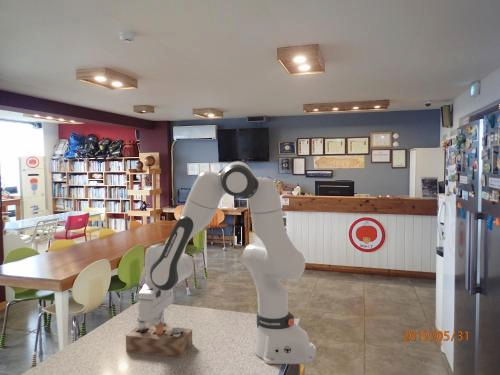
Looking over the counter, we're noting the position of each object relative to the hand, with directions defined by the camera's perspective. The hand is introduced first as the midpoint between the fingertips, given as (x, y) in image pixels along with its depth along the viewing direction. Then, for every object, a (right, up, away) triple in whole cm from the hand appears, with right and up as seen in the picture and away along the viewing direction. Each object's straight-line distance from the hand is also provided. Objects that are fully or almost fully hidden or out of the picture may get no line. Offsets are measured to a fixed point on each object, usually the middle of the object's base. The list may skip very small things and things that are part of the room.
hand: (158, 323), depth 135 cm
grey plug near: (+7, -8, -1) cm, 11 cm away
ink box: (-8, -9, +19) cm, 23 cm away
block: (0, -10, +1) cm, 10 cm away
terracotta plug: (0, -6, +1) cm, 6 cm away
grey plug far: (-7, -5, +2) cm, 8 cm away
